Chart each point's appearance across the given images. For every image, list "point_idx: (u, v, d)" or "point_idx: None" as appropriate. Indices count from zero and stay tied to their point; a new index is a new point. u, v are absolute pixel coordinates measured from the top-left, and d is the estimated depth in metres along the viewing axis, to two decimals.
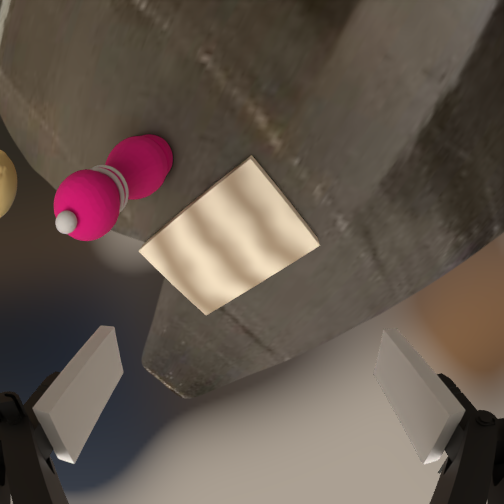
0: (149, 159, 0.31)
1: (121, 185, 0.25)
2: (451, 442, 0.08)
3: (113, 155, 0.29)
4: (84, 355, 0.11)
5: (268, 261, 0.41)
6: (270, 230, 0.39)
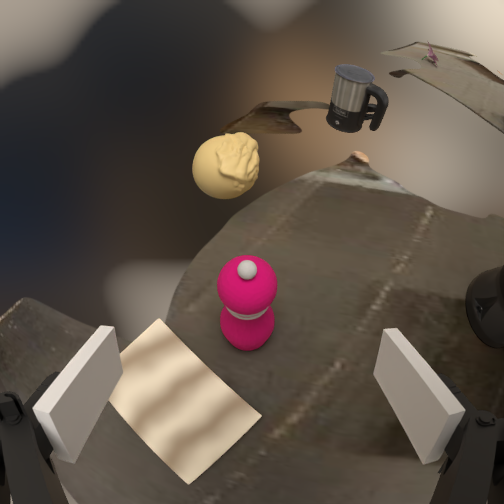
0: (261, 333, 0.38)
1: (257, 314, 0.33)
2: (450, 442, 0.08)
3: None
4: (84, 355, 0.11)
5: (162, 441, 0.35)
6: (195, 440, 0.35)
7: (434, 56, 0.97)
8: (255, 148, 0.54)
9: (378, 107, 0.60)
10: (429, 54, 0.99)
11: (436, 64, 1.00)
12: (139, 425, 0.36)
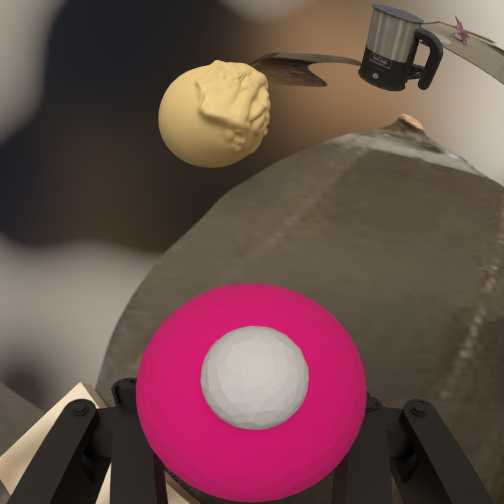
0: None
1: None
2: None
3: None
4: None
5: None
6: None
7: (464, 33, 0.74)
8: (263, 85, 0.30)
9: (431, 56, 0.37)
10: (458, 31, 0.76)
11: (466, 42, 0.77)
12: None
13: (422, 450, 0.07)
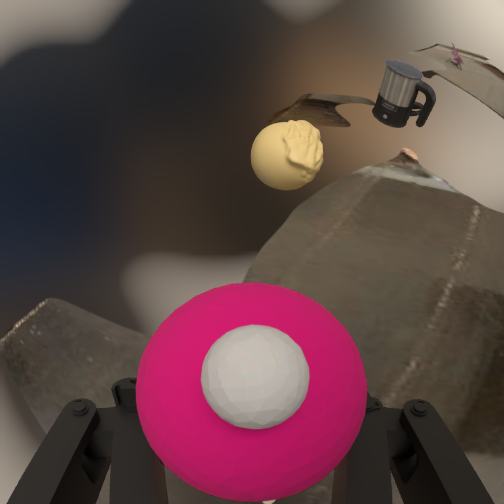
0: None
1: None
2: None
3: None
4: None
5: None
6: None
7: (459, 59, 0.93)
8: (318, 138, 0.50)
9: (427, 103, 0.56)
10: (454, 56, 0.95)
11: (460, 66, 0.96)
12: None
13: (422, 450, 0.07)
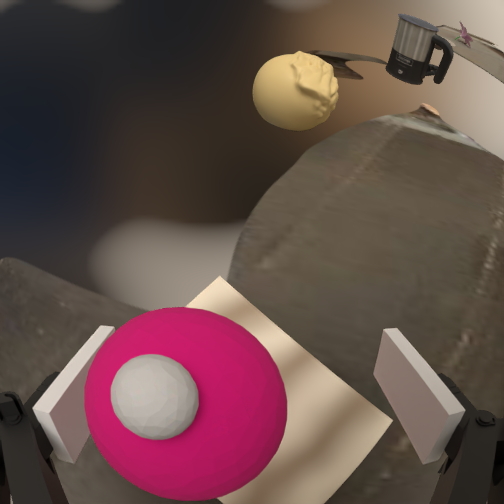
0: None
1: None
2: (450, 442, 0.08)
3: None
4: (84, 355, 0.11)
5: None
6: (292, 474, 0.19)
7: (468, 36, 0.82)
8: (332, 73, 0.39)
9: (444, 57, 0.45)
10: (462, 34, 0.84)
11: (469, 45, 0.85)
12: None
13: None
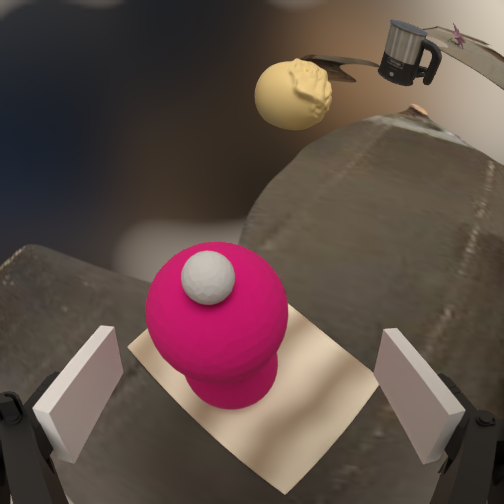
0: (254, 392, 0.20)
1: None
2: (450, 442, 0.08)
3: None
4: (84, 355, 0.11)
5: (243, 433, 0.24)
6: (295, 427, 0.24)
7: (460, 38, 0.87)
8: (326, 78, 0.43)
9: (433, 60, 0.50)
10: (455, 36, 0.89)
11: (462, 46, 0.91)
12: (205, 412, 0.25)
13: None
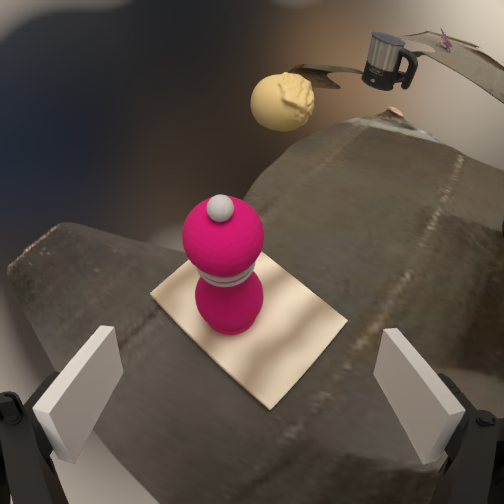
0: (245, 310, 0.30)
1: (237, 279, 0.24)
2: (450, 442, 0.08)
3: None
4: (84, 355, 0.11)
5: (237, 357, 0.34)
6: (278, 352, 0.34)
7: (448, 42, 0.98)
8: (310, 87, 0.54)
9: (409, 67, 0.60)
10: (443, 40, 0.99)
11: (449, 50, 1.01)
12: (209, 340, 0.35)
13: None
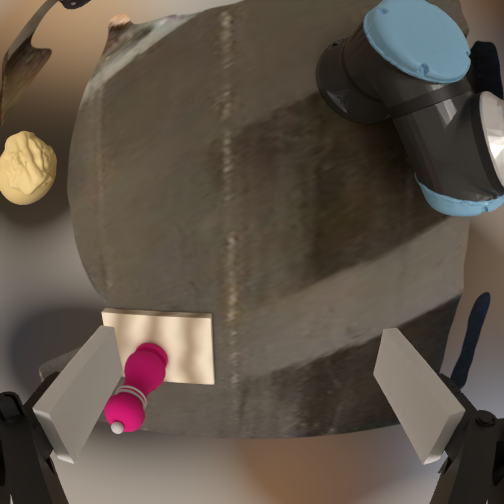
0: (158, 382, 0.47)
1: (144, 408, 0.41)
2: (450, 442, 0.08)
3: (140, 370, 0.45)
4: (84, 355, 0.11)
5: (177, 374, 0.54)
6: (191, 359, 0.53)
7: None
8: (27, 138, 0.38)
9: None
10: None
11: None
12: None
13: None
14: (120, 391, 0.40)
